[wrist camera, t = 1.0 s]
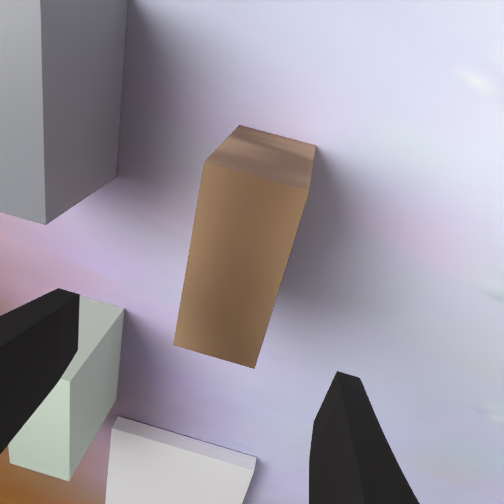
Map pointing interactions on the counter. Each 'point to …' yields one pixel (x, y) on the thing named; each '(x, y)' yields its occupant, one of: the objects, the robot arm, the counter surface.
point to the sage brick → (75, 397)
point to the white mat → (172, 468)
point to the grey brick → (58, 102)
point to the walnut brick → (242, 242)
